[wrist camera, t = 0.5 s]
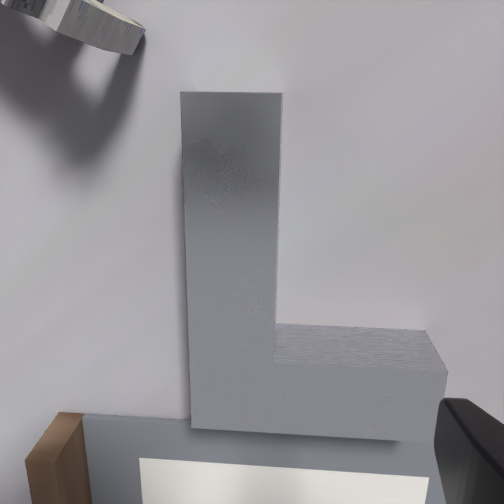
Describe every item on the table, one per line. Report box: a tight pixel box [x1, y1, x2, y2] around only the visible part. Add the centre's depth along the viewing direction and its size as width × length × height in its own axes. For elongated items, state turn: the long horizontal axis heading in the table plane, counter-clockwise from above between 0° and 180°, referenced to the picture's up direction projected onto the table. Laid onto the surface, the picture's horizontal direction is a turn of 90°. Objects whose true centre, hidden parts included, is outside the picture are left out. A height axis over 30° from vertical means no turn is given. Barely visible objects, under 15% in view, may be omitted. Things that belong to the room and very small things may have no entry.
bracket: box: [180, 91, 448, 443], centre depth 17 cm, size 12×9×3 cm
